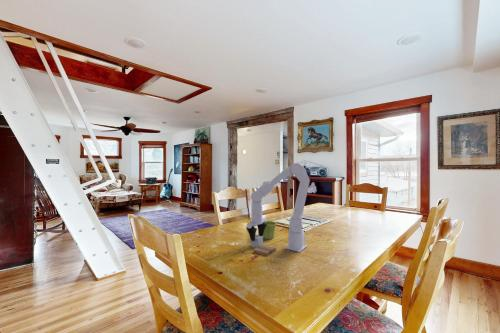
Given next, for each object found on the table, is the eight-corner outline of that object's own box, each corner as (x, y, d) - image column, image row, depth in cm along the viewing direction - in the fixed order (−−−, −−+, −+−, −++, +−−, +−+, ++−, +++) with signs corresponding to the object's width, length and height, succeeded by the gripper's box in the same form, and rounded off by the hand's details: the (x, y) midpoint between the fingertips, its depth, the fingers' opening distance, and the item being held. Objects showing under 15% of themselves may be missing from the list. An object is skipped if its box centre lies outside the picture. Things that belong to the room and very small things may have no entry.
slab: (262, 248, 120) (262, 244, 119) (275, 251, 115) (275, 247, 115) (253, 253, 113) (253, 249, 113) (267, 257, 108) (267, 253, 108)
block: (255, 243, 125) (255, 234, 125) (262, 245, 122) (262, 236, 122) (250, 246, 121) (250, 237, 121) (258, 248, 118) (258, 238, 118)
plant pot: (274, 241, 129) (274, 225, 129) (258, 239, 132) (258, 224, 132) (278, 236, 138) (278, 221, 138) (262, 234, 141) (262, 220, 141)
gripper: (258, 209, 129) (258, 233, 130) (242, 214, 118) (242, 240, 118) (268, 211, 125) (268, 236, 126) (253, 216, 114) (253, 243, 114)
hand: (256, 238), depth 122 cm, fingers open, 7 cm apart
